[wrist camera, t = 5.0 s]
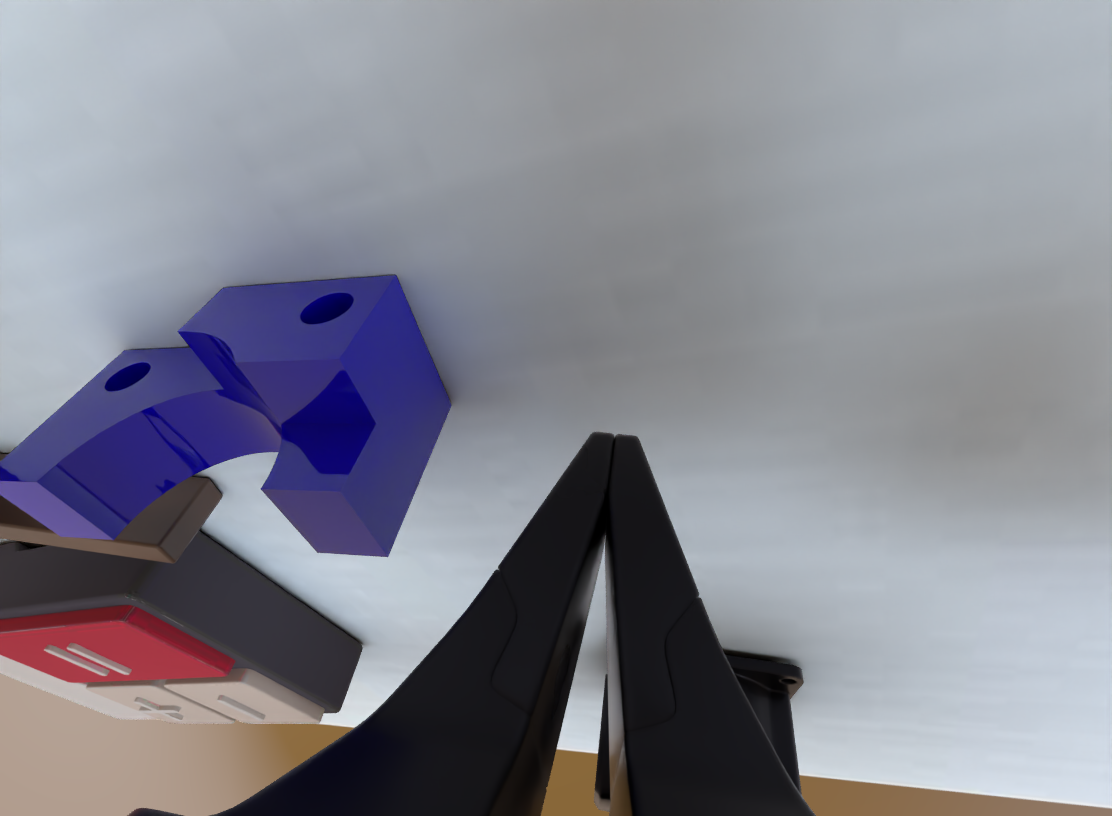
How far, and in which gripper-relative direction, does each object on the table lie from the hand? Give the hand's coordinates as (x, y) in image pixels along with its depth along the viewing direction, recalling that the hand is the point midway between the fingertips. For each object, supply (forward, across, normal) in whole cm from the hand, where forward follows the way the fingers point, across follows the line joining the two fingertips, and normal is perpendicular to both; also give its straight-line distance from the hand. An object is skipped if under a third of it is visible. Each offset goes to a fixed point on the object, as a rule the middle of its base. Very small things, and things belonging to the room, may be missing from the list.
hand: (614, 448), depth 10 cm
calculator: (+2, +20, +16) cm, 26 cm away
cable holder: (+2, +8, 0) cm, 8 cm away
